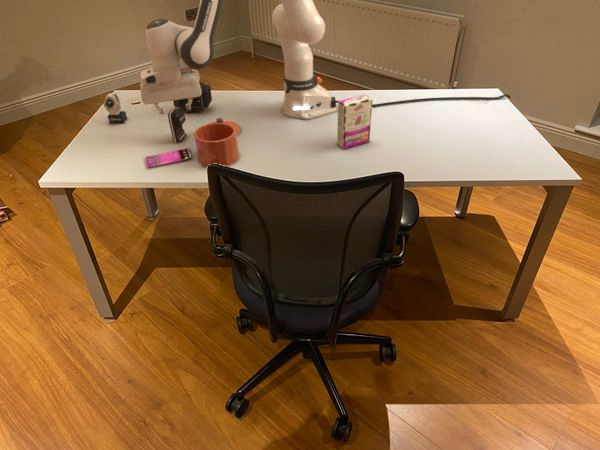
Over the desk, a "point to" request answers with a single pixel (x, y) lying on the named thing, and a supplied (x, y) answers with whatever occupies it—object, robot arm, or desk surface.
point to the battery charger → (177, 124)
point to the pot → (216, 144)
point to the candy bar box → (354, 121)
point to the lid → (228, 123)
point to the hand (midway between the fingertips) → (175, 111)
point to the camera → (197, 100)
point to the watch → (114, 109)
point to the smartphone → (168, 157)
